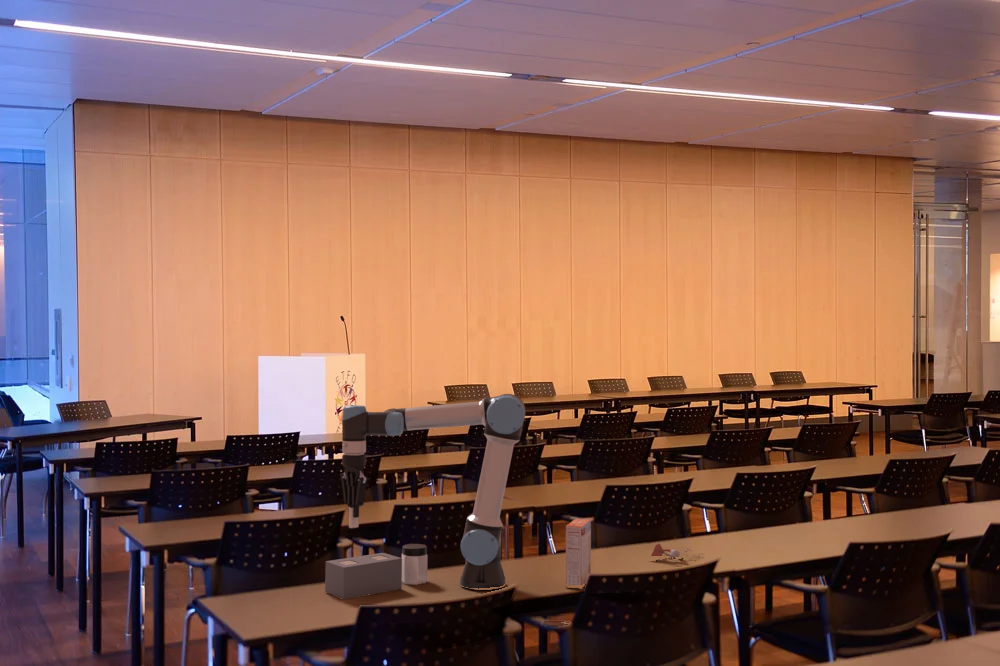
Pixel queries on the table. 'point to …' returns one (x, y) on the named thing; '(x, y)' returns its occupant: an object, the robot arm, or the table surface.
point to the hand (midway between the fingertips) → (353, 527)
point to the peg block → (363, 575)
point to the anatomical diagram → (659, 551)
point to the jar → (414, 564)
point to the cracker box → (578, 551)
